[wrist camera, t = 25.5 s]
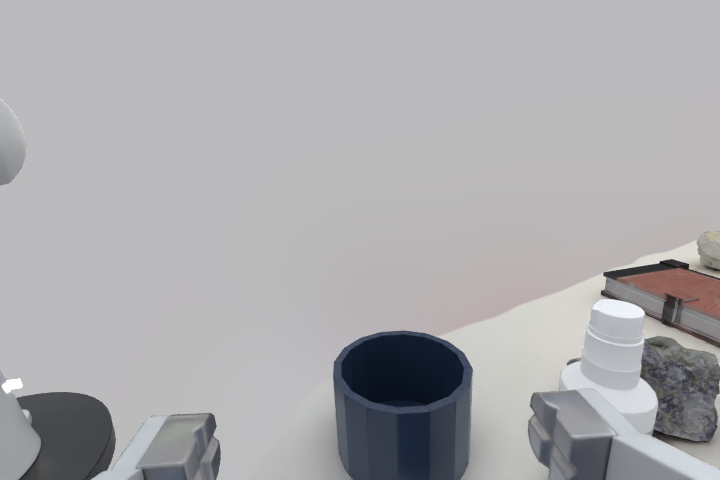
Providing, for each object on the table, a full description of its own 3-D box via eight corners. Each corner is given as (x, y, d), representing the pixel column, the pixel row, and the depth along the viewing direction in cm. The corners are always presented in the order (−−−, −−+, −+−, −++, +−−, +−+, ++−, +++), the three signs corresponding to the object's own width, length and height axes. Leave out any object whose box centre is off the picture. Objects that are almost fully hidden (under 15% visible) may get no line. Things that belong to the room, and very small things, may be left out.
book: (597, 294, 73) (601, 270, 72) (667, 282, 77) (671, 259, 76) (769, 372, 49) (778, 337, 47) (858, 348, 53) (869, 315, 51)
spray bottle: (633, 545, 29) (674, 339, 25) (540, 497, 34) (559, 313, 29) (640, 483, 34) (674, 302, 30) (557, 448, 39) (577, 284, 34)
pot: (338, 507, 34) (331, 418, 31) (339, 403, 47) (335, 334, 44) (489, 496, 34) (494, 407, 31) (448, 395, 47) (449, 327, 44)
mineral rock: (553, 400, 45) (562, 325, 43) (597, 368, 51) (607, 299, 48) (689, 475, 35) (711, 382, 32) (725, 424, 41) (746, 341, 38)
